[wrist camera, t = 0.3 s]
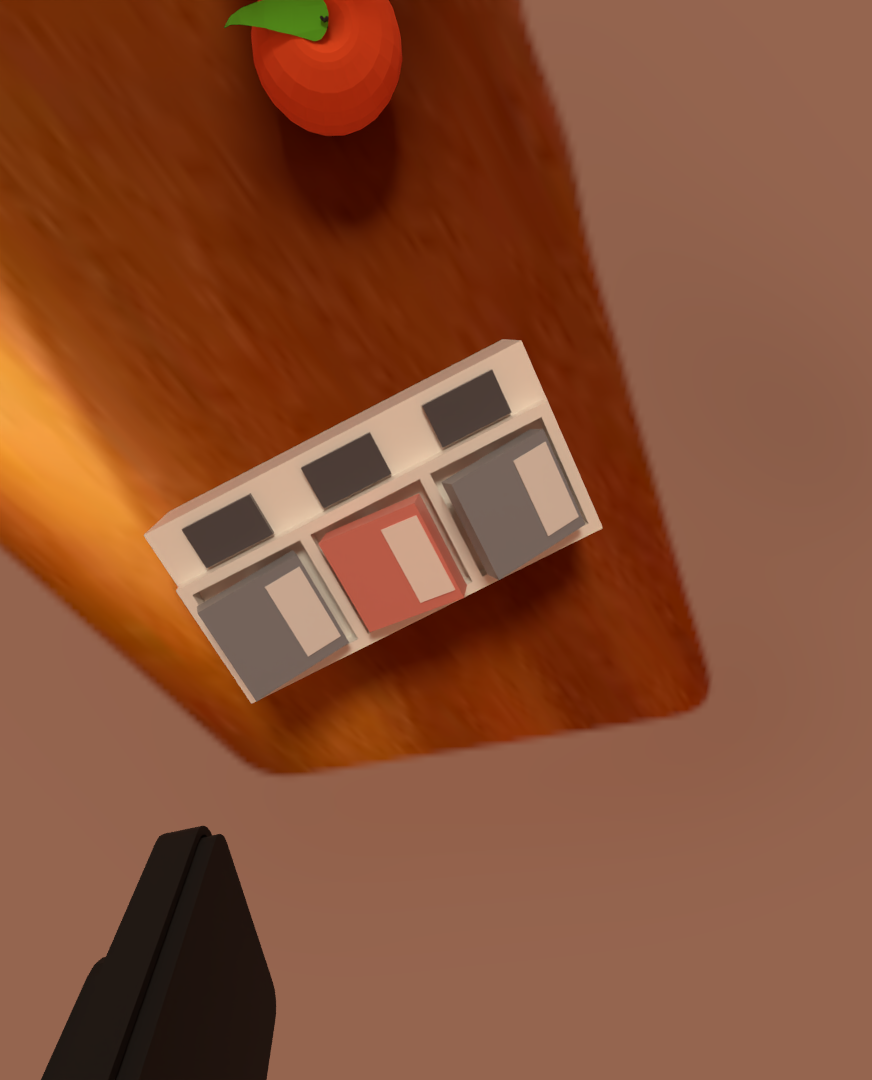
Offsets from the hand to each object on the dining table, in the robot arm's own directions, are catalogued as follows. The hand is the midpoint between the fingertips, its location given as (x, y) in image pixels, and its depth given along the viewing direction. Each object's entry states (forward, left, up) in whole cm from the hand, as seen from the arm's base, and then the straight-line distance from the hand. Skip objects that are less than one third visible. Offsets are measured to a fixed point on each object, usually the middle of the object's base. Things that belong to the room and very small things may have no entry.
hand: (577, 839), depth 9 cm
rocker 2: (+3, -4, -27) cm, 27 cm away
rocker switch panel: (-4, -2, -34) cm, 34 cm away
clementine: (+4, +19, -34) cm, 39 cm away
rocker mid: (-4, -4, -27) cm, 27 cm away
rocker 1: (-11, -4, -27) cm, 29 cm away
